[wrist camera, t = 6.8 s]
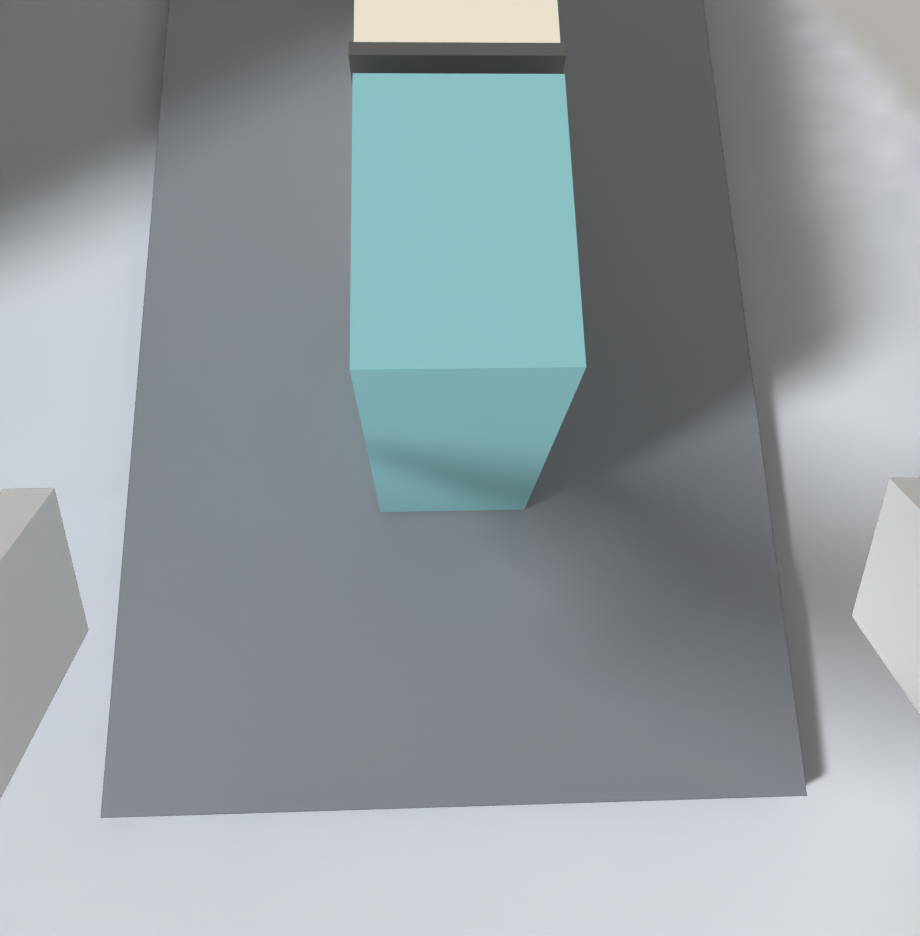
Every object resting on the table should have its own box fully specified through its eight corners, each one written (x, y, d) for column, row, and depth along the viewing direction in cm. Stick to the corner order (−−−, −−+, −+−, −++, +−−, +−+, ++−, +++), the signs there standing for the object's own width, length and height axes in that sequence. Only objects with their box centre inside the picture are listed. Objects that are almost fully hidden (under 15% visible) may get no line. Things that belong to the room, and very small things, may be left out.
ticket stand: (791, 793, 24) (1081, 841, 13) (114, 814, 23) (-151, 883, 12) (687, -33, 32) (816, -412, 21) (182, -37, 31) (56, -432, 21)
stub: (524, 509, 25) (586, 367, 15) (380, 512, 24) (349, 369, 15) (514, 313, 26) (565, 73, 17) (380, 314, 26) (352, 73, 17)
